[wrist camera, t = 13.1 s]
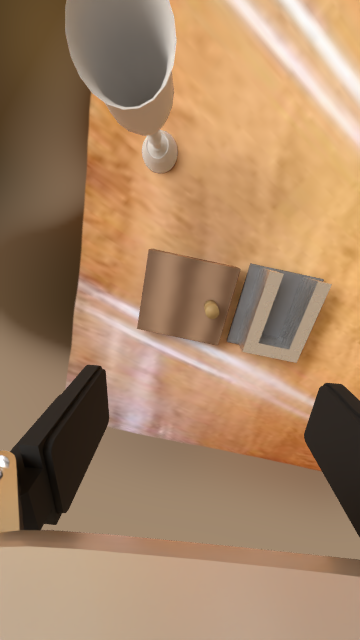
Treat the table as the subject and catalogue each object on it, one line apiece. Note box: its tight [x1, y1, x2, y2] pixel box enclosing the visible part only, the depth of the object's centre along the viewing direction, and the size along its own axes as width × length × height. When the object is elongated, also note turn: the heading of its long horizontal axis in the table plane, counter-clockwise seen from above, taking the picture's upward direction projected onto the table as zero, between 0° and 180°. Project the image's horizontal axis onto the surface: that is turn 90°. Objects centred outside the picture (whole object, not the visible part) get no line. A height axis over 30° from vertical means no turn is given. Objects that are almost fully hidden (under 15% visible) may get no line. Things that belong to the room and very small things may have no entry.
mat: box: [227, 264, 324, 344], centre depth 37 cm, size 12×14×1 cm
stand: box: [137, 249, 240, 345], centre depth 34 cm, size 14×13×6 cm
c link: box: [237, 268, 332, 363], centre depth 35 cm, size 13×9×4 cm
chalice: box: [65, 0, 178, 173], centre depth 22 cm, size 7×7×18 cm
